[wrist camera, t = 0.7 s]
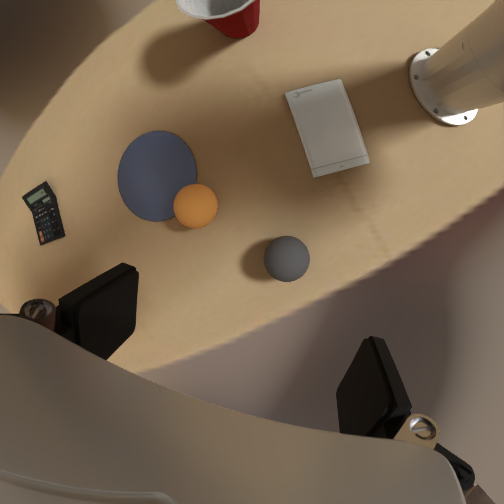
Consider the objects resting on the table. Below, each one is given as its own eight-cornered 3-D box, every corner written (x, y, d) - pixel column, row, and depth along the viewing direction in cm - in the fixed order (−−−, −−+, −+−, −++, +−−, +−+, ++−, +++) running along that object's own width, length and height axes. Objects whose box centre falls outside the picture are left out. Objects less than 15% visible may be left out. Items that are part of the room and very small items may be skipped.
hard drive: (284, 92, 33) (313, 178, 36) (341, 77, 31) (371, 163, 34) (284, 95, 35) (313, 178, 37) (339, 81, 33) (368, 163, 35)
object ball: (194, 175, 39) (177, 176, 34) (230, 195, 39) (218, 199, 33) (177, 211, 41) (159, 218, 35) (211, 231, 41) (197, 241, 35)
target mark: (139, 118, 38) (138, 118, 38) (213, 154, 38) (212, 153, 38) (107, 196, 43) (107, 196, 42) (172, 237, 42) (172, 237, 42)
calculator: (42, 244, 49) (33, 247, 46) (31, 193, 46) (21, 195, 43) (66, 235, 47) (56, 239, 44) (54, 179, 44) (43, 181, 41)
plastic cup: (190, 37, 33) (155, 3, 22) (232, -8, 30) (211, -50, 18) (245, 65, 34) (223, 28, 22) (289, 17, 30) (283, -29, 19)
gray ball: (280, 223, 39) (276, 232, 33) (317, 245, 39) (319, 258, 33) (259, 259, 41) (252, 273, 35) (294, 280, 41) (293, 297, 35)
